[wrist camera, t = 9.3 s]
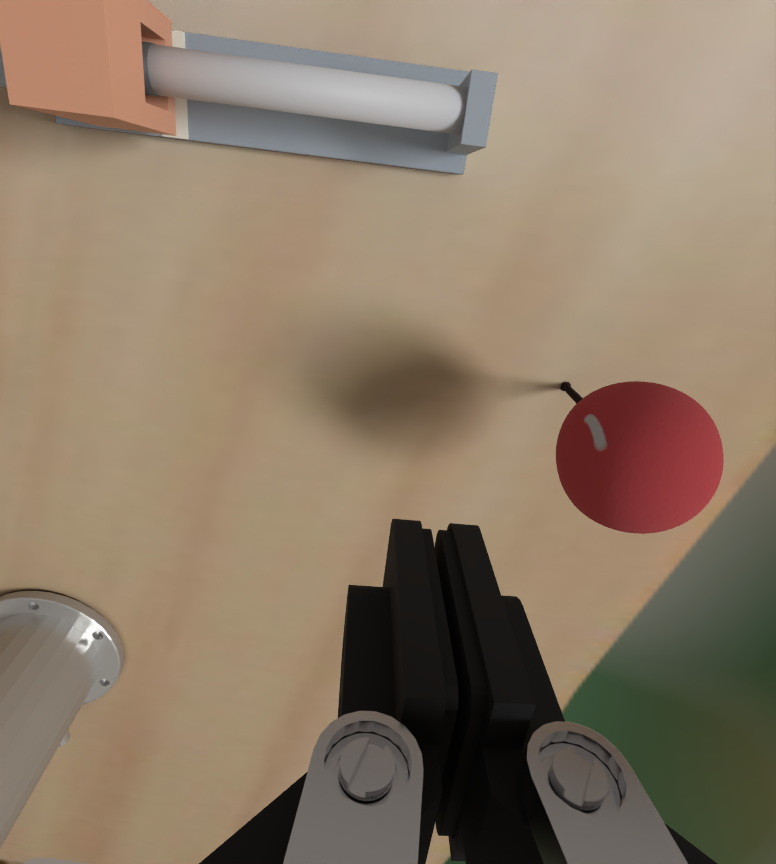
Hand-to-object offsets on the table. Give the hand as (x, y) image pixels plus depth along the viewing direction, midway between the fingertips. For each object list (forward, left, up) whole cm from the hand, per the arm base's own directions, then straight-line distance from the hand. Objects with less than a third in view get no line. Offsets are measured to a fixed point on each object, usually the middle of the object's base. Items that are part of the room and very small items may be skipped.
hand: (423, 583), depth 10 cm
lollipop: (-4, -13, -27) cm, 31 cm away
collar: (+11, +14, -24) cm, 30 cm away
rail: (+11, +8, -27) cm, 30 cm away
